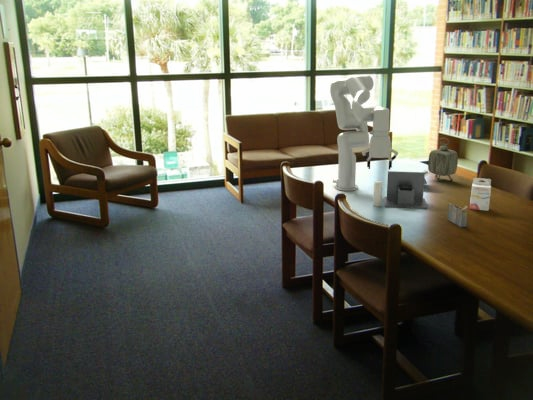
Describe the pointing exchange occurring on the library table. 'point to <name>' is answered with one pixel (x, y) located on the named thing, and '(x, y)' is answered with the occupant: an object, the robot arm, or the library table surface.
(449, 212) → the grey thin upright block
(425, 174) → the wall
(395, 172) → the cup bracket
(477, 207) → the ink cartridge box
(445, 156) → the tabletop clock
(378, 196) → the off-white rounded cylinder
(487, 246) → the library table surface
